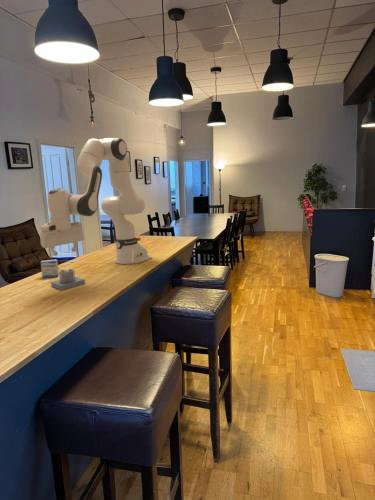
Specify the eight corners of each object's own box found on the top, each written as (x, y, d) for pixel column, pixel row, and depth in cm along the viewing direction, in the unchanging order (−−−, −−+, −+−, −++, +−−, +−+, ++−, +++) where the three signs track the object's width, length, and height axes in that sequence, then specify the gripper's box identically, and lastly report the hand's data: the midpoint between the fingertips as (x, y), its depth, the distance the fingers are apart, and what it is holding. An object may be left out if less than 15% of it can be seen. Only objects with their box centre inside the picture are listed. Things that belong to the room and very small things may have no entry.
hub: (70, 278, 172) (69, 268, 170) (77, 280, 167) (76, 270, 166) (58, 281, 167) (57, 271, 166) (65, 283, 163) (63, 273, 162)
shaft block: (74, 280, 175) (72, 265, 173) (85, 283, 168) (83, 268, 167) (51, 286, 166) (49, 271, 165) (61, 290, 160) (59, 274, 158)
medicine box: (42, 278, 181) (40, 262, 179) (43, 276, 185) (41, 260, 183) (58, 276, 183) (56, 260, 181) (59, 274, 187) (57, 258, 185)
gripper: (77, 220, 171) (81, 248, 174) (36, 227, 156) (41, 257, 160) (84, 221, 166) (88, 249, 170) (43, 228, 152) (47, 259, 155)
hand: (65, 253), depth 165 cm, fingers open, 8 cm apart
